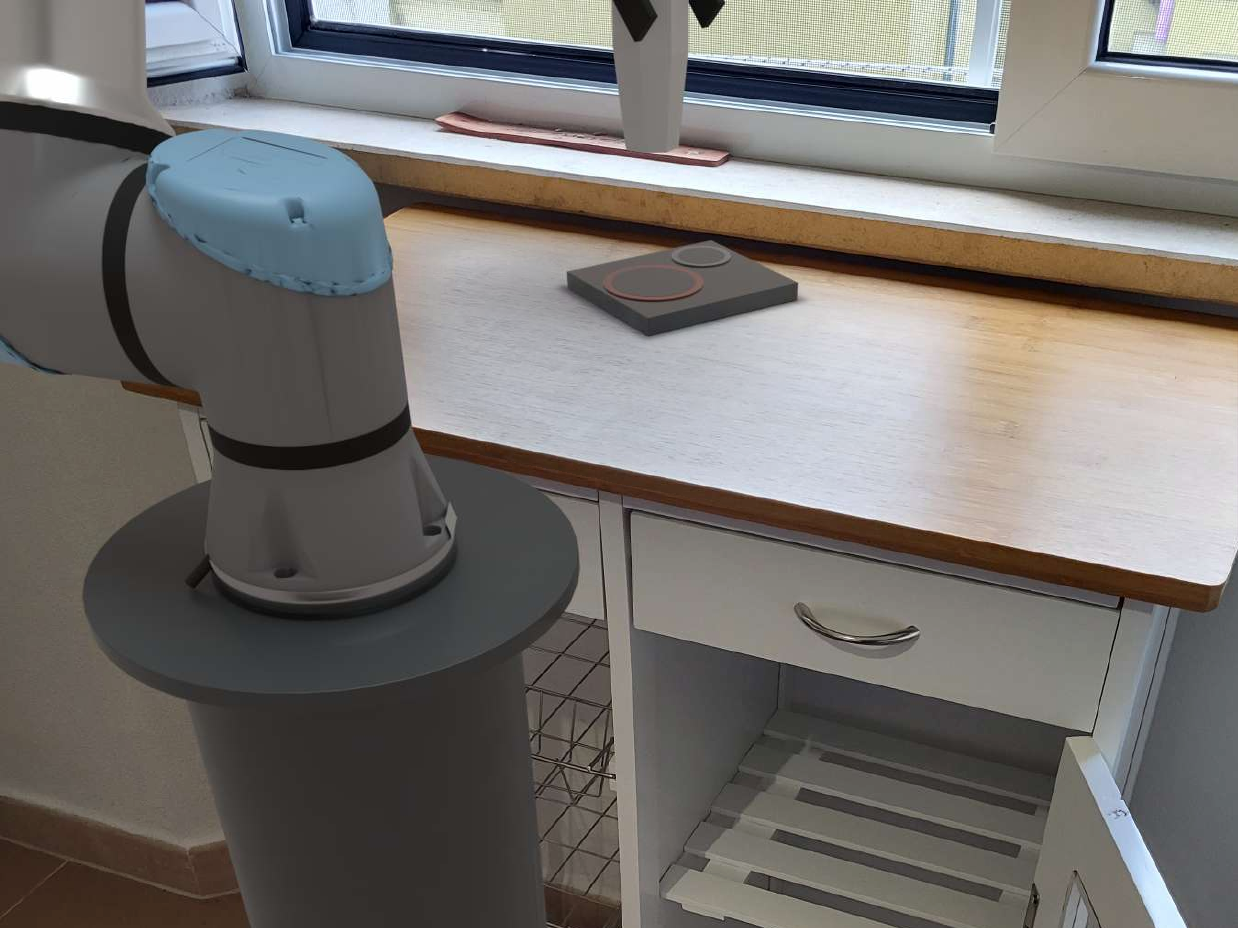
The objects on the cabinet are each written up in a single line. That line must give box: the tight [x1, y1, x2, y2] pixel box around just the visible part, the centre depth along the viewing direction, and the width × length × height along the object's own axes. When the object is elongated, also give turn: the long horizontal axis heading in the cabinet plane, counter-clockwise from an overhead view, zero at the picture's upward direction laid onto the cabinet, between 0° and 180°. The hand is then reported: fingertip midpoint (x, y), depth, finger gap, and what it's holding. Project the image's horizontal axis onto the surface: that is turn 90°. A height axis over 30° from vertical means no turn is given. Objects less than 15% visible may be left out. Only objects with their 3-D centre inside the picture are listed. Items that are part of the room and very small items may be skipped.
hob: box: [566, 239, 799, 337], centre depth 128 cm, size 16×14×2 cm
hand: (680, 22), depth 111 cm, fingers closed on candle, 7 cm apart
